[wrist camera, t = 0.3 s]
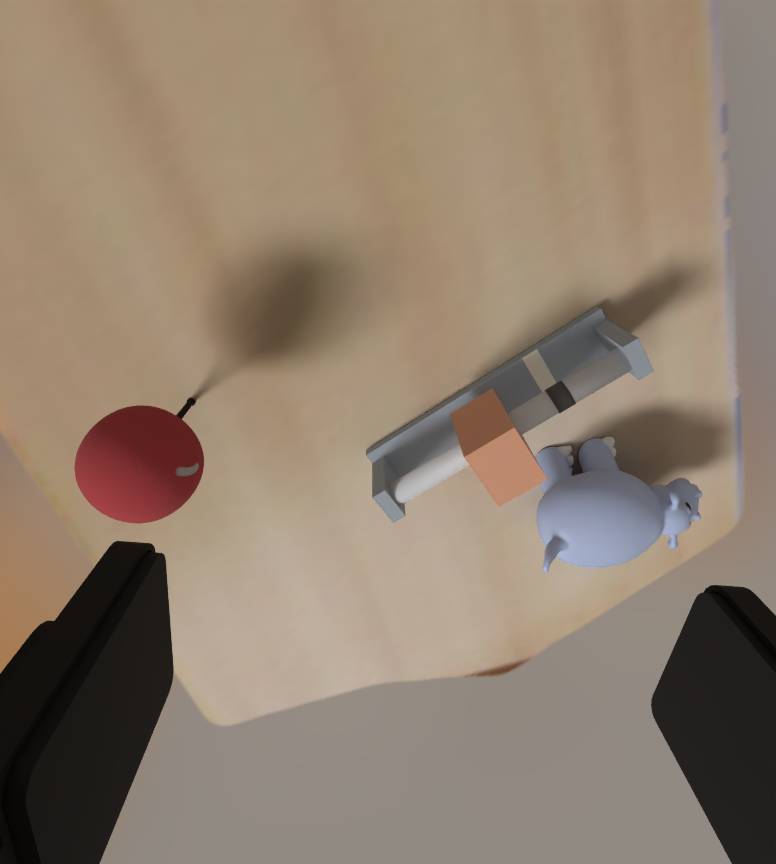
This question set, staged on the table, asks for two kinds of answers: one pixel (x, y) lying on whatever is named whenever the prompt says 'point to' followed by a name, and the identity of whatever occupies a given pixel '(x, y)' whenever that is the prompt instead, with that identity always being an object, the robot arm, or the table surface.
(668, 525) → the hippopotamus toy
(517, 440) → the collar
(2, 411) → the table surface
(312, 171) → the table surface
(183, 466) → the lollipop
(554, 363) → the rail
